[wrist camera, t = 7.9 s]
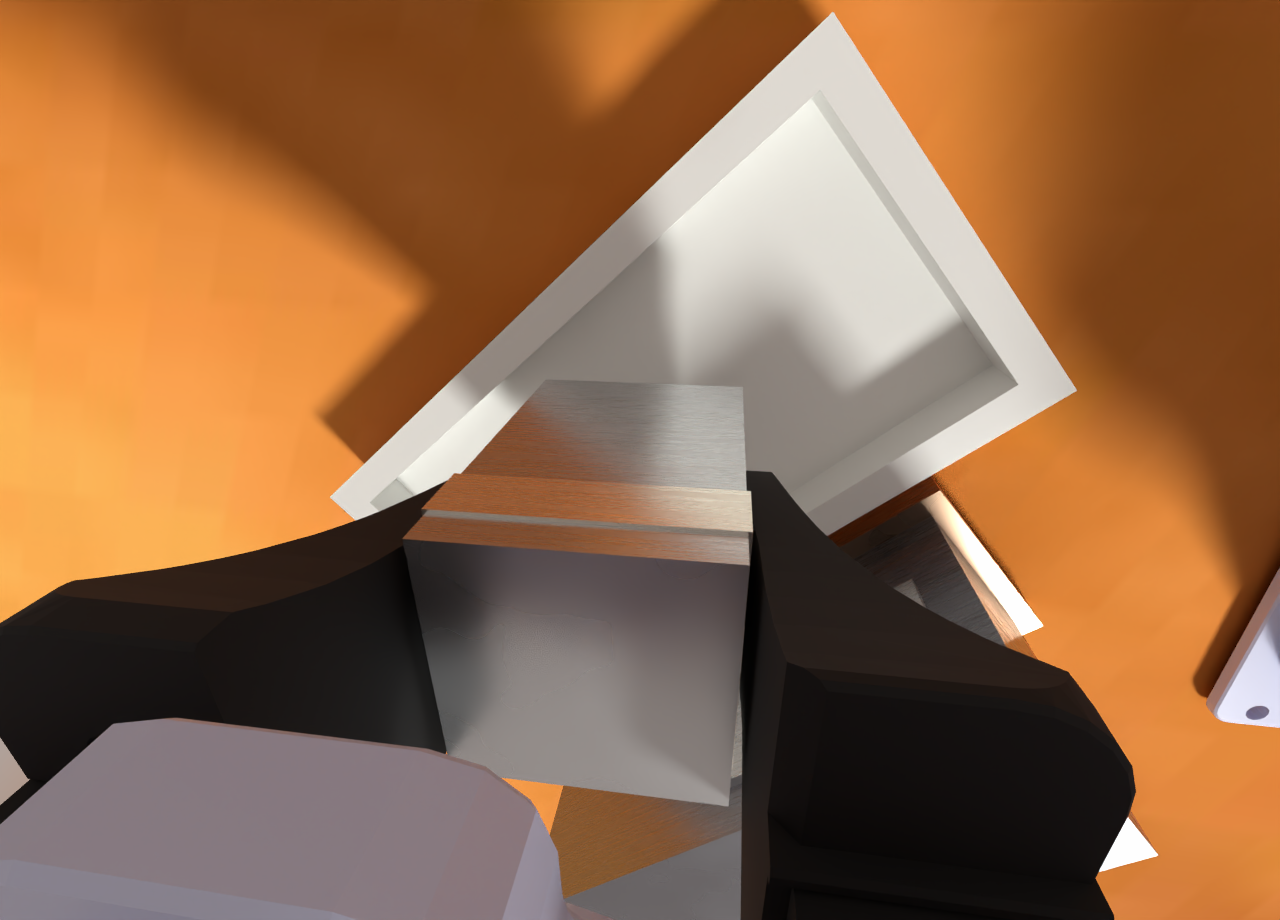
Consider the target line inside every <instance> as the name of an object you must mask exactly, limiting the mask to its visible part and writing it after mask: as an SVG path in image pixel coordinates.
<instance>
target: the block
mask: <svg viewBox="0 0 1280 920" xmlns="http://www.w3.org/2000/svg"><path fill="white" fill-rule="evenodd" d="M421 511H422V517H421V518H420V520H419V521H418V522H417V523H416V524H415V525H414V526H413V527H412V528H411V530H410V531H409V532H408V533H407V534H406V535H405V536H404V537H403V538H402V541H403V546H404V550H405V555H406V560H407V565H408V569H409V574H410V579H411V584H412V588H413V593H414V598H415V603H416V607H417V612H418V617H419V622H420V626H421V631H422V636H423V641H424V645H425V650H426V655H427V659H428V664H429V669H430V674H431V678H432V683H433V688H434V693H435V697H436V702H437V707H438V712H439V716H440V721H441V726H442V731H443V735H444V740H445V745H446V749H447V754H448V755H450V756H453V757H456V758H460V759H463V760H466V761H469V762H473V763H476V764H479V765H482V766H485V767H487V768H488V769H490V770H491V771H492V772H494V773H495V774H496V775H498V776H499V777H501V778H509V779H517V780H525V781H533V782H541V783H548V784H556V785H564V786H572V787H580V788H587V789H595V790H603V791H611V792H619V793H627V794H634V795H642V796H650V797H658V798H666V799H674V800H681V801H689V802H697V803H705V804H713V805H720V806H729V795H730V783H731V772H732V766H733V754H734V743H735V732H736V720H737V709H738V697H739V686H740V675H741V663H742V652H743V640H744V629H745V617H746V606H747V595H748V583H749V572H750V560H751V549H752V538H753V522H752V503H751V491H747V487H746V460H745V434H744V407H743V387H731V386H705V385H679V384H653V383H627V382H601V381H575V380H548V379H546V380H545V381H544V382H543V383H542V384H541V385H540V386H539V388H538V389H537V390H536V391H535V392H534V393H533V394H532V395H531V396H530V398H529V399H528V400H527V401H526V402H525V403H524V404H523V405H522V406H521V408H520V409H519V410H518V411H517V412H516V413H515V414H514V415H513V416H512V418H511V419H510V420H509V421H508V422H507V423H506V424H505V425H504V426H503V428H502V429H501V430H500V431H499V432H498V433H497V434H496V435H495V436H494V437H493V439H492V440H491V441H490V442H489V443H488V444H487V445H486V446H485V447H484V449H483V450H482V451H481V452H480V453H479V454H478V455H477V456H476V457H475V459H474V460H473V461H472V462H471V463H470V464H469V465H468V466H467V467H466V469H465V470H464V471H463V472H462V473H461V474H459V473H454V474H453V475H452V476H451V477H450V478H449V480H448V481H447V482H446V483H445V484H444V485H443V486H442V487H441V488H440V489H439V490H438V491H437V493H436V494H435V495H434V496H433V497H432V498H431V499H430V500H429V501H428V502H427V503H426V504H425V505H424V507H423V508H422V509H421Z"/></svg>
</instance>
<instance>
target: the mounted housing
mask: <svg viewBox="0 0 1280 920" xmlns="http://www.w3.org/2000/svg"><path fill="white" fill-rule="evenodd" d="M828 537H829V538H830V539H831V540H832V541H833V542H834V543H835V544H836V545H837V546H838V547H839V548H840V549H842V550H843V551H844V552H845V553H846V554H848V555H849V556H850V557H851V558H852V559H854V560H855V561H856V562H858V563H859V564H860V565H862V566H863V567H864V568H866V569H867V570H868V571H870V572H871V573H872V574H873V575H875V576H876V577H878V578H879V579H880V580H882V581H883V582H885V583H886V584H888V585H889V586H891V587H892V588H894V589H896V590H897V591H899V592H900V593H902V594H904V595H905V596H907V597H909V598H910V599H912V600H914V601H915V602H917V603H918V604H920V605H922V606H923V607H925V608H927V609H929V610H931V611H933V612H934V613H936V614H938V615H940V616H942V617H944V618H945V619H947V620H949V621H951V622H953V623H955V624H957V625H959V626H962V627H964V628H966V629H968V630H970V631H972V632H974V633H976V634H978V635H980V636H982V637H984V638H986V639H988V640H991V641H993V642H995V643H998V644H1000V645H1002V646H1005V647H1007V648H1010V649H1012V650H1015V651H1017V652H1020V653H1022V654H1025V655H1027V656H1030V657H1032V658H1035V659H1037V658H1036V656H1035V655H1034V653H1033V651H1032V650H1031V648H1030V646H1029V645H1028V643H1027V642H1026V640H1025V638H1024V637H1023V635H1024V634H1026V633H1028V632H1030V631H1033V630H1035V629H1037V628H1039V627H1042V626H1043V625H1042V624H1041V622H1040V621H1039V619H1038V618H1037V616H1036V615H1035V613H1034V612H1033V610H1032V609H1031V607H1030V606H1029V604H1028V603H1027V601H1026V600H1025V599H1024V597H1023V596H1022V595H1021V593H1020V592H1019V591H1018V590H1017V588H1016V587H1015V586H1014V584H1013V583H1012V582H1011V580H1010V579H1009V578H1008V576H1007V575H1006V574H1005V572H1004V571H1003V570H1002V568H1001V567H1000V566H999V564H998V563H997V562H996V560H995V559H994V558H993V557H992V555H991V554H990V553H989V551H988V550H987V549H986V547H985V546H984V545H983V543H982V542H981V541H980V539H979V538H978V537H977V535H976V534H975V533H974V531H973V530H972V529H971V527H970V526H969V525H968V524H967V522H966V521H965V520H964V518H963V517H962V516H961V514H960V513H959V512H958V510H957V509H956V508H955V506H954V505H953V504H952V502H951V501H950V500H949V498H948V497H947V496H946V494H945V493H944V492H943V491H942V489H941V488H940V487H939V485H938V484H937V483H936V481H935V480H934V479H933V477H932V476H929V477H928V478H926V479H924V480H923V481H921V482H919V483H917V484H916V485H914V486H912V487H911V488H909V489H907V490H905V491H904V492H902V493H900V494H898V495H897V496H895V497H893V498H892V499H890V500H888V501H886V502H885V503H883V504H881V505H880V506H878V507H876V508H874V509H873V510H871V511H869V512H868V513H866V514H864V515H862V516H861V517H859V518H857V519H855V520H854V521H852V522H850V523H849V524H847V525H845V526H843V527H842V528H840V529H838V530H837V531H835V532H833V533H831V534H830V535H828ZM1037 660H1038V659H1037ZM741 832H742V718H741V702H740V691H739V697H738V709H737V720H736V732H735V743H734V754H733V766H732V772H731V783H730V795H729V806H720V805H713V804H705V803H697V802H689V801H681V800H674V799H666V798H658V797H650V796H642V795H634V794H627V793H619V792H611V791H603V790H595V789H587V788H580V787H572V786H563V790H562V793H561V797H560V800H559V804H558V808H557V811H556V815H555V818H554V822H553V825H552V829H551V833H550V837H551V839H552V841H553V843H554V845H555V847H556V849H557V851H558V858H559V867H560V877H561V886H562V894H563V897H564V901H565V902H567V903H570V904H573V905H576V906H579V907H581V908H584V909H587V910H590V911H592V912H595V913H598V914H601V915H603V916H606V917H609V918H612V919H614V920H741ZM1154 856H1158V854H1157V853H1156V851H1155V849H1154V848H1153V846H1152V844H1151V843H1150V841H1149V840H1148V838H1147V836H1146V835H1145V833H1144V832H1143V830H1142V828H1141V827H1140V825H1139V823H1138V822H1137V820H1136V819H1135V817H1134V815H1133V814H1132V812H1131V810H1130V813H1129V816H1128V818H1127V820H1126V822H1125V824H1124V826H1123V827H1122V829H1121V831H1120V833H1119V835H1118V837H1117V839H1116V841H1115V842H1114V844H1113V846H1112V848H1111V850H1110V852H1109V854H1108V855H1107V857H1106V859H1105V861H1104V863H1103V865H1102V867H1101V869H1100V870H1099V872H1100V871H1104V870H1107V869H1111V868H1114V867H1118V866H1122V865H1125V864H1129V863H1132V862H1136V861H1140V860H1143V859H1147V858H1150V857H1154Z"/></svg>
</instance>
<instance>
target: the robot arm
mask: <svg viewBox="0 0 1280 920" xmlns="http://www.w3.org/2000/svg"><path fill="white" fill-rule="evenodd" d="M447 481H448V480H447ZM447 481H445V482H443V483H441V484H438V485H436V486H434V487H432V488H430V489H428V490H426V491H424V492H422V493H420V494H417V495H415V496H413V497H411V498H408V499H406V500H404V501H402V502H399V503H397V504H395V505H393V506H390V507H388V508H386V509H384V510H381V511H379V512H377V513H374V514H372V515H369V516H367V517H364V518H361V519H359V520H356V521H353V522H350V523H348V524H345V525H342V526H339V527H336V528H333V529H330V530H327V531H324V532H321V533H318V534H315V535H311V536H308V537H304V538H300V539H297V540H293V541H289V542H286V543H282V544H278V545H275V546H271V547H268V548H264V549H260V550H256V551H252V552H248V553H243V554H239V555H234V556H230V557H225V558H220V559H215V560H210V561H205V562H199V563H194V564H189V565H184V566H178V567H172V568H166V569H159V570H152V571H144V572H137V573H130V574H122V575H115V576H108V577H101V578H93V579H84V580H75V581H72V582H69V583H66V584H64V585H62V586H60V587H58V588H57V589H55V590H53V591H52V592H50V593H48V594H47V595H45V596H44V597H42V598H40V599H39V600H37V601H35V602H34V603H32V604H31V605H29V606H27V607H26V608H24V609H23V610H21V611H19V612H18V613H16V614H14V615H13V616H11V617H10V618H8V619H6V620H5V621H3V622H1V623H0V738H1V739H2V741H3V742H4V744H5V745H6V747H7V748H8V750H9V751H10V753H11V754H12V756H13V757H14V759H15V760H16V761H17V763H18V765H19V766H20V767H21V769H22V771H23V772H24V774H25V775H26V777H27V778H28V779H30V780H29V781H28V782H27V783H26V784H24V785H23V786H22V787H21V788H20V789H19V790H17V791H16V792H15V793H14V794H13V795H12V796H11V797H9V798H8V799H7V800H6V801H5V802H4V803H2V804H1V805H0V920H614V919H612V918H609V917H606V916H603V915H601V914H598V913H595V912H592V911H590V910H587V909H584V908H581V907H579V906H576V905H573V904H570V903H567V902H565V901H564V897H563V894H562V886H561V877H560V867H559V858H558V851H557V849H556V847H555V845H554V843H553V841H552V839H551V837H550V835H549V833H548V831H547V829H546V827H545V825H544V823H543V821H542V819H541V817H540V815H539V813H538V811H537V809H536V808H535V806H534V805H533V803H532V802H531V800H530V799H528V798H527V797H526V796H524V795H523V794H522V793H520V792H519V791H518V790H516V789H515V788H514V787H512V786H511V785H510V784H508V783H507V782H506V781H504V780H503V779H502V778H500V777H499V776H498V775H496V774H495V773H494V772H492V771H491V770H490V769H488V768H487V767H485V766H482V765H479V764H476V763H473V762H469V761H466V760H463V759H460V758H456V757H453V756H450V755H447V754H446V751H447V749H446V745H445V740H444V735H443V731H442V726H441V721H440V716H439V712H438V707H437V702H436V697H435V693H434V688H433V683H432V678H431V674H430V669H429V664H428V659H427V655H426V650H425V645H424V641H423V636H422V631H421V626H420V622H419V617H418V612H417V607H416V603H415V598H414V593H413V588H412V584H411V579H410V574H409V569H408V565H407V560H406V555H405V550H404V546H403V541H402V538H403V537H404V536H405V535H406V534H407V533H408V532H409V531H410V530H411V528H412V527H413V526H414V525H415V524H416V523H417V522H418V521H419V520H420V518H421V517H422V511H421V509H422V508H423V507H424V505H425V504H426V503H427V502H428V501H429V500H430V499H431V498H432V497H433V496H434V495H435V494H436V493H437V491H438V490H439V489H440V488H441V487H442V486H443V485H444V484H445V483H446V482H447ZM746 487H747V491H751V503H752V522H753V538H752V549H751V560H750V572H749V583H748V595H747V606H746V617H745V629H744V640H743V652H742V663H741V675H740V686H739V691H740V702H741V718H742V832H741V920H1114V914H1113V912H1112V910H1111V908H1110V907H1109V905H1108V903H1107V901H1106V899H1105V897H1104V895H1103V893H1102V891H1101V889H1100V887H1099V885H1098V883H1097V881H1096V879H1095V878H1096V876H1097V874H1098V872H1099V870H1100V869H1101V867H1102V865H1103V863H1104V861H1105V859H1106V857H1107V855H1108V854H1109V852H1110V850H1111V848H1112V846H1113V844H1114V842H1115V841H1116V839H1117V837H1118V835H1119V833H1120V831H1121V829H1122V827H1123V826H1124V824H1125V822H1126V820H1127V818H1128V816H1129V813H1130V810H1131V806H1132V803H1133V800H1134V796H1135V793H1136V789H1135V782H1134V775H1133V768H1132V765H1131V764H1130V762H1129V760H1128V759H1127V757H1126V756H1125V754H1124V753H1123V751H1122V749H1121V748H1120V746H1119V745H1118V743H1117V742H1116V740H1115V738H1114V737H1113V735H1112V734H1111V732H1110V731H1109V729H1108V727H1107V726H1106V724H1105V723H1104V721H1103V720H1102V718H1101V716H1100V715H1099V713H1098V712H1097V710H1096V708H1095V707H1094V706H1093V704H1092V703H1091V702H1090V700H1089V699H1088V698H1087V696H1086V695H1085V693H1084V692H1083V691H1082V689H1081V688H1080V687H1079V685H1078V684H1077V683H1076V681H1075V680H1074V679H1073V678H1072V676H1071V675H1070V674H1069V672H1067V671H1064V670H1062V669H1059V668H1057V667H1055V666H1052V665H1050V664H1047V663H1045V662H1042V661H1040V660H1037V659H1035V658H1032V657H1030V656H1027V655H1025V654H1022V653H1020V652H1017V651H1015V650H1012V649H1010V648H1007V647H1005V646H1002V645H1000V644H998V643H995V642H993V641H991V640H988V639H986V638H984V637H982V636H980V635H978V634H976V633H974V632H972V631H970V630H968V629H966V628H964V627H962V626H959V625H957V624H955V623H953V622H951V621H949V620H947V619H945V618H944V617H942V616H940V615H938V614H936V613H934V612H933V611H931V610H929V609H927V608H925V607H923V606H922V605H920V604H918V603H917V602H915V601H914V600H912V599H910V598H909V597H907V596H905V595H904V594H902V593H900V592H899V591H897V590H896V589H894V588H892V587H891V586H889V585H888V584H886V583H885V582H883V581H882V580H880V579H879V578H878V577H876V576H875V575H873V574H872V573H871V572H870V571H868V570H867V569H866V568H864V567H863V566H862V565H860V564H859V563H858V562H856V561H855V560H854V559H852V558H851V557H850V556H849V555H848V554H846V553H845V552H844V551H843V550H842V549H840V548H839V547H838V546H837V545H836V544H835V543H834V542H833V541H832V540H831V539H830V538H829V537H828V536H826V535H825V534H824V533H823V532H822V531H821V530H820V529H819V528H818V527H817V526H816V525H815V524H814V522H813V521H812V520H811V519H810V518H809V517H808V516H807V515H806V514H805V513H804V511H803V510H802V509H801V508H800V507H799V506H798V504H797V503H796V502H795V501H794V499H793V498H792V497H791V496H790V494H789V493H788V492H787V491H786V489H785V488H784V487H783V485H782V484H781V483H780V481H779V480H778V479H777V478H776V476H775V475H774V474H773V473H772V472H765V471H747V470H746ZM1206 705H1207V707H1208V709H1209V710H1210V711H1211V712H1212V714H1213V715H1214V716H1215V717H1216V718H1218V719H1219V720H1220V721H1224V722H1229V723H1239V724H1249V725H1258V726H1268V727H1278V728H1280V568H1279V570H1278V571H1277V573H1276V575H1275V577H1274V579H1273V580H1272V582H1271V584H1270V586H1269V588H1268V590H1267V591H1266V593H1265V595H1264V597H1263V599H1262V600H1261V602H1260V604H1259V606H1258V608H1257V610H1256V611H1255V613H1254V615H1253V617H1252V619H1251V620H1250V622H1249V624H1248V626H1247V628H1246V630H1245V631H1244V633H1243V635H1242V637H1241V639H1240V640H1239V642H1238V644H1237V646H1236V648H1235V649H1234V651H1233V653H1232V655H1231V657H1230V659H1229V660H1228V662H1227V664H1226V666H1225V668H1224V669H1223V671H1222V673H1221V675H1220V677H1219V679H1218V680H1217V682H1216V684H1215V686H1214V688H1213V689H1212V691H1211V693H1210V695H1209V697H1208V699H1207V702H1206Z"/></svg>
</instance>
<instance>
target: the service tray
mask: <svg viewBox="0 0 1280 920" xmlns="http://www.w3.org/2000/svg"><path fill="white" fill-rule="evenodd" d="M546 379H548V380H575V381H601V382H627V383H653V384H679V385H705V386H731V387H743V407H744V434H745V460H746V470H747V471H765V472H772V473H773V474H774V475H775V476H776V478H777V479H778V480H779V481H780V483H781V484H782V485H783V487H784V488H785V489H786V491H787V492H788V493H789V494H790V496H791V497H792V498H793V499H794V501H795V502H796V503H797V504H798V506H799V507H800V508H801V509H802V510H803V511H804V513H805V514H806V515H807V516H808V517H809V518H810V519H811V520H812V521H813V522H814V524H815V525H816V526H817V527H818V528H819V529H820V530H821V531H822V532H823V533H824V534H825V535H826V536H828V535H830V534H831V533H833V532H835V531H837V530H838V529H840V528H842V527H843V526H845V525H847V524H849V523H850V522H852V521H854V520H855V519H857V518H859V517H861V516H862V515H864V514H866V513H868V512H869V511H871V510H873V509H874V508H876V507H878V506H880V505H881V504H883V503H885V502H886V501H888V500H890V499H892V498H893V497H895V496H897V495H898V494H900V493H902V492H904V491H905V490H907V489H909V488H911V487H912V486H914V485H916V484H917V483H919V482H921V481H923V480H924V479H926V478H928V477H929V476H931V475H933V474H935V473H936V472H938V471H940V470H941V469H943V468H945V467H947V466H948V465H950V464H952V463H953V462H955V461H957V460H959V459H960V458H962V457H964V456H966V455H967V454H969V453H971V452H972V451H974V450H976V449H978V448H979V447H981V446H983V445H984V444H986V443H988V442H990V441H991V440H993V439H995V438H996V437H998V436H1000V435H1002V434H1003V433H1005V432H1007V431H1009V430H1010V429H1012V428H1014V427H1015V426H1017V425H1019V424H1021V423H1022V422H1024V421H1026V420H1027V419H1029V418H1031V417H1033V416H1034V415H1036V414H1038V413H1039V412H1041V411H1043V410H1045V409H1046V408H1048V407H1050V406H1052V405H1053V404H1055V403H1057V402H1058V401H1060V400H1062V399H1064V398H1065V397H1067V396H1069V395H1070V394H1072V393H1074V392H1076V391H1077V390H1076V388H1075V386H1074V385H1073V383H1072V382H1071V380H1070V379H1069V377H1068V376H1067V374H1066V372H1065V371H1064V369H1063V368H1062V366H1061V365H1060V363H1059V362H1058V360H1057V358H1056V357H1055V355H1054V354H1053V352H1052V351H1051V349H1050V348H1049V346H1048V345H1047V343H1046V341H1045V340H1044V338H1043V337H1042V335H1041V334H1040V332H1039V331H1038V329H1037V327H1036V326H1035V324H1034V323H1033V321H1032V320H1031V318H1030V317H1029V315H1028V313H1027V312H1026V310H1025V309H1024V307H1023V306H1022V304H1021V303H1020V301H1019V300H1018V298H1017V296H1016V295H1015V293H1014V292H1013V290H1012V289H1011V287H1010V286H1009V284H1008V282H1007V281H1006V279H1005V278H1004V276H1003V275H1002V273H1001V272H1000V270H999V268H998V267H997V265H996V264H995V262H994V261H993V259H992V258H991V256H990V255H989V253H988V251H987V250H986V248H985V247H984V245H983V244H982V242H981V241H980V239H979V237H978V236H977V234H976V233H975V231H974V230H973V228H972V227H971V225H970V223H969V222H968V220H967V219H966V217H965V216H964V214H963V213H962V211H961V210H960V208H959V206H958V205H957V203H956V202H955V200H954V199H953V197H952V196H951V194H950V192H949V191H948V189H947V188H946V186H945V185H944V183H943V182H942V180H941V178H940V177H939V175H938V174H937V172H936V171H935V169H934V168H933V166H932V165H931V163H930V161H929V160H928V158H927V157H926V155H925V154H924V152H923V151H922V149H921V147H920V146H919V144H918V143H917V141H916V140H915V138H914V137H913V135H912V133H911V132H910V130H909V129H908V127H907V126H906V124H905V123H904V121H903V120H902V118H901V116H900V115H899V113H898V112H897V110H896V109H895V107H894V106H893V104H892V102H891V101H890V99H889V98H888V96H887V95H886V93H885V92H884V90H883V88H882V87H881V85H880V84H879V82H878V81H877V79H876V78H875V76H874V75H873V73H872V71H871V70H870V68H869V67H868V65H867V64H866V62H865V61H864V59H863V57H862V56H861V54H860V53H859V51H858V50H857V48H856V47H855V45H854V43H853V42H852V40H851V39H850V37H849V36H848V34H847V33H846V31H845V30H844V28H843V26H842V25H841V23H840V22H839V20H838V19H837V17H836V16H835V14H834V12H832V13H831V14H830V15H829V16H828V17H827V18H826V19H825V20H824V21H823V22H822V23H821V24H820V25H819V26H818V27H817V28H816V29H815V30H813V31H812V32H811V33H810V34H809V35H808V36H807V37H806V38H805V39H804V40H803V41H802V42H801V43H800V44H799V45H798V46H797V47H796V48H795V49H794V50H793V51H792V52H791V53H790V54H789V55H788V56H787V57H786V58H784V59H783V60H782V61H781V62H780V63H779V64H778V65H777V66H776V67H775V68H774V69H773V70H772V71H771V72H770V73H769V74H768V75H767V76H766V77H765V78H764V79H763V80H762V81H761V82H760V83H759V84H758V85H756V86H755V87H754V88H753V89H752V90H751V91H750V92H749V93H748V94H747V95H746V96H745V97H744V98H743V99H742V100H741V101H740V102H739V103H738V104H737V105H736V106H735V107H734V108H733V109H732V110H731V111H730V112H729V113H727V114H726V115H725V116H724V117H723V118H722V119H721V120H720V121H719V122H718V123H717V124H716V125H715V126H714V127H713V128H712V129H711V130H710V131H709V132H708V133H707V134H706V135H705V136H704V137H703V138H702V139H701V140H700V141H698V142H697V143H696V144H695V145H694V146H693V147H692V148H691V149H690V150H689V151H688V152H687V153H686V154H685V155H684V156H683V157H682V158H681V159H680V160H679V161H678V162H677V163H676V164H675V165H674V166H673V167H672V168H670V169H669V170H668V171H667V172H666V173H665V174H664V175H663V176H662V177H661V178H660V179H659V180H658V181H657V182H656V183H655V184H654V185H653V186H652V187H651V188H650V189H649V190H648V191H647V192H646V193H645V194H644V195H643V196H641V197H640V198H639V199H638V200H637V201H636V202H635V203H634V204H633V205H632V206H631V207H630V208H629V209H628V210H627V211H626V212H625V213H624V214H623V215H622V216H621V217H620V218H619V219H618V220H617V221H616V222H615V223H613V224H612V225H611V226H610V227H609V228H608V229H607V230H606V231H605V232H604V233H603V234H602V235H601V236H600V237H599V238H598V239H597V240H596V241H595V242H594V243H593V244H592V245H591V246H590V247H589V248H588V249H587V250H586V251H584V252H583V253H582V254H581V255H580V256H579V257H578V258H577V259H576V260H575V261H574V262H573V263H572V264H571V265H570V266H569V267H568V268H567V269H566V270H565V271H564V272H563V273H562V274H561V275H560V276H559V277H558V278H557V279H555V280H554V281H553V282H552V283H551V284H550V285H549V286H548V287H547V288H546V289H545V290H544V291H543V292H542V293H541V294H540V295H539V296H538V297H537V298H536V299H535V300H534V301H533V302H532V303H531V304H530V305H529V306H527V307H526V308H525V309H524V310H523V311H522V312H521V313H520V314H519V315H518V316H517V317H516V318H515V319H514V320H513V321H512V322H511V323H510V324H509V325H508V326H507V327H506V328H505V329H504V330H503V331H502V332H501V333H500V334H498V335H497V336H496V337H495V338H494V339H493V340H492V341H491V342H490V343H489V344H488V345H487V346H486V347H485V348H484V349H483V350H482V351H481V352H480V353H479V354H478V355H477V356H476V357H475V358H474V359H473V360H472V361H470V362H469V363H468V364H467V365H466V366H465V367H464V368H463V369H462V370H461V371H460V372H459V373H458V374H457V375H456V376H455V377H454V378H453V379H452V380H451V381H450V382H449V383H448V384H447V385H446V386H445V387H444V388H443V389H441V390H440V391H439V392H438V393H437V394H436V395H435V396H434V397H433V398H432V399H431V400H430V401H429V402H428V403H427V404H426V405H425V406H424V407H423V408H422V409H421V410H420V411H419V412H418V413H417V414H416V415H415V416H414V417H412V418H411V419H410V420H409V421H408V422H407V423H406V424H405V425H404V426H403V427H402V428H401V429H400V430H399V431H398V432H397V433H396V434H395V435H394V436H393V437H392V438H391V439H390V440H389V441H388V442H387V443H386V444H384V445H383V446H382V447H381V448H380V449H379V450H378V451H377V452H376V453H375V454H374V455H373V456H372V457H371V458H370V459H369V460H368V461H367V462H366V463H365V464H364V465H363V466H362V467H361V468H360V469H359V470H358V471H357V472H355V473H354V474H353V475H352V476H351V477H350V478H349V479H348V480H347V481H346V482H345V483H344V484H343V485H342V486H341V487H340V488H339V489H338V490H337V491H336V492H335V493H334V494H333V495H332V496H331V497H330V498H331V499H332V500H334V501H335V502H336V503H337V504H338V505H339V506H340V507H341V508H342V509H344V510H345V511H346V512H347V513H348V514H349V515H350V516H351V517H352V518H354V519H355V520H359V519H361V518H364V517H367V516H369V515H372V514H374V513H377V512H379V511H381V510H384V509H386V508H388V507H390V506H393V505H395V504H397V503H399V502H402V501H404V500H406V499H408V498H411V497H413V496H415V495H417V494H420V493H422V492H424V491H426V490H428V489H430V488H432V487H434V486H436V485H438V484H441V483H443V482H445V481H447V480H449V478H450V477H451V476H452V475H453V474H454V473H459V474H461V473H462V472H463V471H464V470H465V469H466V467H467V466H468V465H469V464H470V463H471V462H472V461H473V460H474V459H475V457H476V456H477V455H478V454H479V453H480V452H481V451H482V450H483V449H484V447H485V446H486V445H487V444H488V443H489V442H490V441H491V440H492V439H493V437H494V436H495V435H496V434H497V433H498V432H499V431H500V430H501V429H502V428H503V426H504V425H505V424H506V423H507V422H508V421H509V420H510V419H511V418H512V416H513V415H514V414H515V413H516V412H517V411H518V410H519V409H520V408H521V406H522V405H523V404H524V403H525V402H526V401H527V400H528V399H529V398H530V396H531V395H532V394H533V393H534V392H535V391H536V390H537V389H538V388H539V386H540V385H541V384H542V383H543V382H544V381H545V380H546Z"/></svg>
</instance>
